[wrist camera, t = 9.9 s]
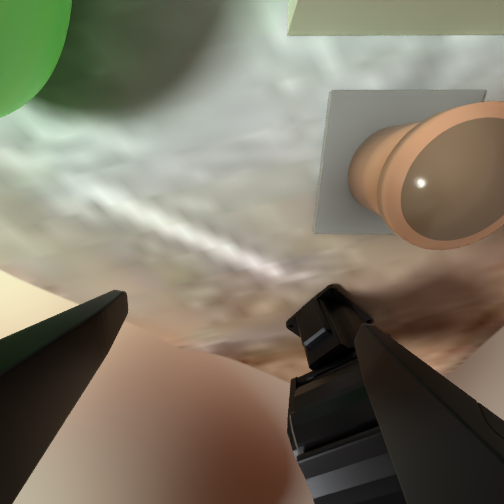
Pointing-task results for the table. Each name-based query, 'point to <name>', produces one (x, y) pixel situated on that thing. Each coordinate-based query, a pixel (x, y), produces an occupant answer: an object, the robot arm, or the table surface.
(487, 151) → the terracotta pot
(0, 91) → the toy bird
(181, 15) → the table surface
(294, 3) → the pale green square tray
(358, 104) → the slate pad
